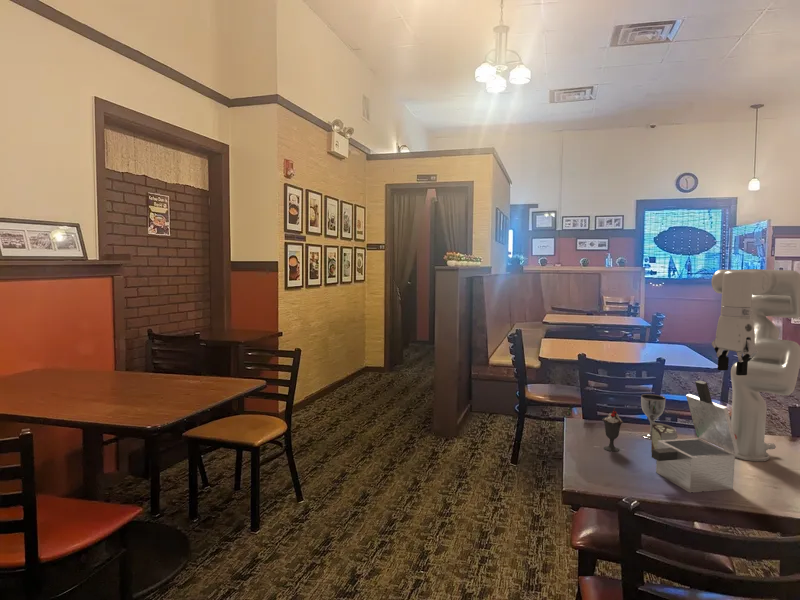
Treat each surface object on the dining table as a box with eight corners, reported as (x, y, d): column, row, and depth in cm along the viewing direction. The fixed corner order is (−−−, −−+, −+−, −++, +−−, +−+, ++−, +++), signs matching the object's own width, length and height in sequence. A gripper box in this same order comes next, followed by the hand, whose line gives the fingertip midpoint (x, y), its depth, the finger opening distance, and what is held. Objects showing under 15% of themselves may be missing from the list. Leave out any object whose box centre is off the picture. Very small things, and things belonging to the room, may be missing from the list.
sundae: (611, 454, 173) (613, 409, 172) (596, 447, 179) (598, 404, 178) (626, 451, 176) (628, 407, 175) (611, 444, 182) (613, 402, 181)
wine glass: (667, 440, 187) (669, 399, 185) (645, 440, 187) (647, 399, 185) (656, 433, 194) (658, 394, 193) (635, 433, 195) (637, 393, 193)
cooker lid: (697, 437, 160) (705, 433, 161) (735, 454, 146) (744, 450, 147) (681, 377, 158) (689, 373, 158) (718, 389, 144) (727, 385, 144)
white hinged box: (696, 469, 161) (697, 437, 160) (732, 489, 147) (735, 454, 147) (638, 473, 157) (639, 441, 156) (670, 494, 144) (672, 459, 143)
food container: (681, 466, 164) (683, 435, 163) (660, 464, 165) (662, 433, 164) (669, 452, 176) (671, 423, 175) (650, 450, 177) (651, 421, 176)
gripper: (772, 315, 146) (768, 378, 147) (723, 309, 163) (719, 366, 164) (749, 316, 144) (745, 379, 146) (702, 309, 161) (699, 367, 163)
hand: (731, 372), depth 155 cm, fingers open, 6 cm apart
